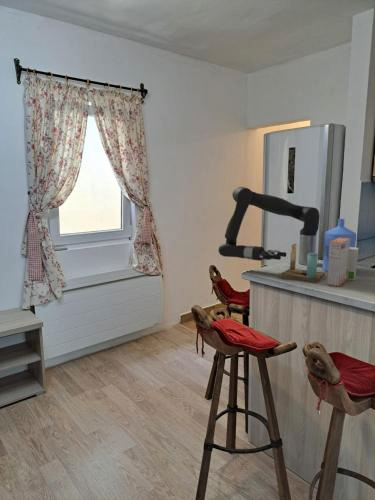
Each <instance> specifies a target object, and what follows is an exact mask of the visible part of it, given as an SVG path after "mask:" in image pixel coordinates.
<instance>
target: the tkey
mask: <svg viewBox="0 0 375 500" xmlns="http://www.w3.org/2000/svg"><path fill="white" fill-rule="evenodd" d="M289 257H290V258H289V259H290V261H289V262H290V263H289V269H290V270H292V272H296V273H303V274H306V273H307V269H300V270H295V269H296V261H297V243H292V244H291V245H290V256H289Z"/></svg>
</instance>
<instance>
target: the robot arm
mask: <svg viewBox="0 0 375 500" xmlns="http://www.w3.org/2000/svg"><path fill="white" fill-rule="evenodd" d="M231 194H232V199H233V200H234V201H235V208H234V212H233V214H232V216H231V217H230V219H229V222H228V224H227V225H226V231H225V234H224V238H225V239H226V240H225V243H222V244H221V245H220V246H219V247H218V249H217V250H218V253H219V255H220V256H222V257H227V258H238V259H247V260H251V261H260V262H261V261H263V260H267V261H271V260H278V261H279V260H281V259H282V257H283V258H285V257H287V252H285V251H284V252H283V251H280V250H276V249H274V250H273V249H267V250H265V248H264V247H263V246H256V245H240V244H239V245H237V242H238V241H237V238H238V236H239V234H240V233H239V232H240V229H241V226H242V223H243V220H244V218H245V215H246V213H247V211H248V207H249V206H254V207H256V208H258V209H261V210H263V211H266V212H268V213H272V214H274V215H279V216H285V217H290V218H293V219H296V220H298V221H300V222H302V223H303V227H302V228H301V229H300V231H299V247H298V264H299V265H303V266H307V254H308V253H316V247H317V234H318V230H319V225H320V219H321V218H320V210H319V209H318V208H316V207H313V206H303V205H298V204H294V203H292V202H290V201H288V200H287V199H284V198H280V197H278V196H276V195H270V194H264V193H258V192H255V191H252V190H251V189H250V188H248V187H244V186H239V187H237V188H235V189H234V190H233V192H232V193H231Z"/></svg>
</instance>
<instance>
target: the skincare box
mask: <svg viewBox="0 0 375 500" xmlns="http://www.w3.org/2000/svg"><path fill="white" fill-rule="evenodd" d="M358 256H359V247H356V246H355V247H350V257H349V272H348V280H347V281H355V280H356V274H357V267H358V259H359V258H358Z"/></svg>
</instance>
